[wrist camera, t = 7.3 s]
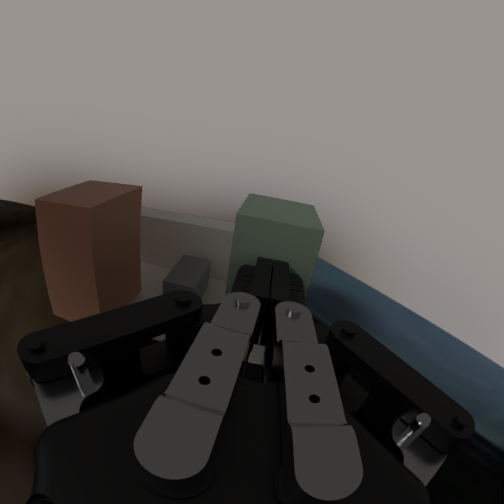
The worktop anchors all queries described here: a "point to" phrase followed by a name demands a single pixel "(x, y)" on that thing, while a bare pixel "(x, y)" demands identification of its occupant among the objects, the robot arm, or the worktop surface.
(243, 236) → the green rectangular block
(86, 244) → the terracotta rectangular block
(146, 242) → the console
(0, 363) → the worktop surface
